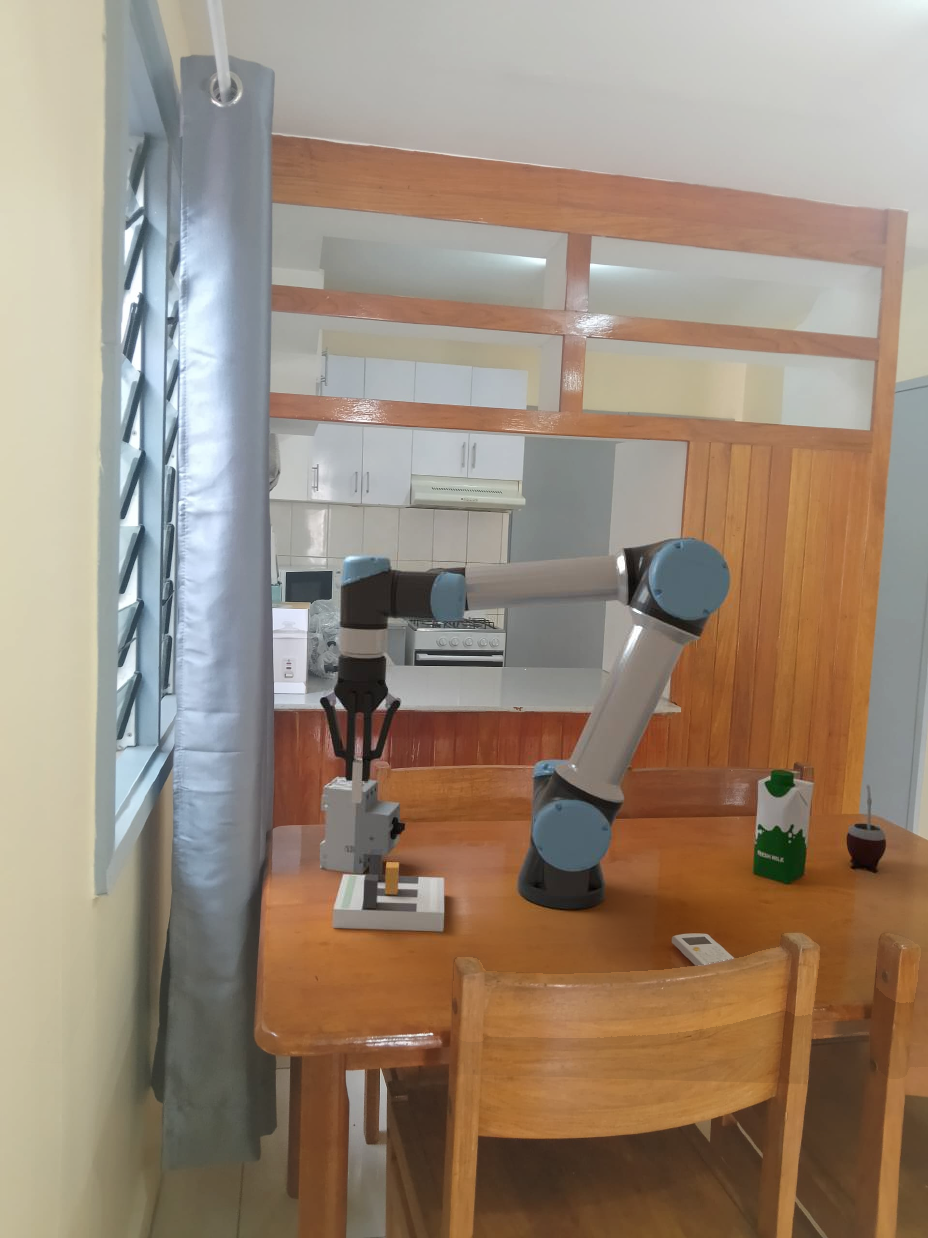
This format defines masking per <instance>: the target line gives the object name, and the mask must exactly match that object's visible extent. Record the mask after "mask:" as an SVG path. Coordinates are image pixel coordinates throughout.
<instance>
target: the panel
mask: <svg viewBox="0 0 928 1238" xmlns="http://www.w3.org/2000/svg"><path fill="white" fill-rule="evenodd" d="M385 877H386V874H385V875H383V874H382V877H381V881H378V894H377V906H376V908H363V897H364V879H365V874H349V873H348V874H345V873H343V874H342V877H341V881H340V885H339V888H338V892H337V894H336V899H335V902H334V905H333V908H332V909H333V914H332V928H333V929H355V930H356V929H357V930H358V929H359V930H386V931H387V930H389V931H413V932H415V931H418V932H419V931H420V932H421V931H423V932H444V926H445V878H444V877H432V876H430V877H429V876H412V875H411V876H408V875H407V876H406V875H399V877H398V893H397V895H393V894H385Z"/></svg>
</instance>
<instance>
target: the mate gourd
mask: <svg viewBox="0 0 928 1238" xmlns="http://www.w3.org/2000/svg"><path fill="white" fill-rule="evenodd" d="M870 787H871V786H870V785H869V784H867V785H866V791H867V792H866V794H867V799H866V803H867V823H862V822H860V823H859V822H857V823H854V824H852V825H851V826H850V827H849V829H848V830H847V831H848V832H847V833H846V848H847V851H848V853H849V856H850V857H851V859H850V863H851V864H852V865H850V869H851V870H860V869H864V870H867V871H869V872H871V873H874V874H877V873H878V872H879V870H878V869H877V867H878V865H879V862H880V860H881V859H882V858H883V856H884V854H885V852H886V848H887V841H886V835H885V833H884V830H883V829H882V828H880V827H879V826H876V825H874V824H871V819H872V817H871V816H872V814H871V813H872V811H871V810H872V807H871V806H872V802H873V801H872V798H871V797H872V796H871V789H870Z"/></svg>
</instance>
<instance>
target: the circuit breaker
mask: <svg viewBox="0 0 928 1238" xmlns="http://www.w3.org/2000/svg"><path fill="white" fill-rule="evenodd" d="M322 790H323V792H322V795H321V798H320V799H321V802H320V803H321V804H320V806H321V808H320V810H321V811H322V812H323V811H324V812H325V829H324V830H325V831H324V835H325V836H324V839H323V841H321V842H320V843H319V870H320V869H321V870H322V869H325V870H327V871H337V872H345V873H352V874H358V875H363V874H364V872H365V871H366V870H367V869H369V861H370V851H371V849H372V850H383V857H388V855H389V854H390V853H391V852H392V851H393V849H394V848H395V847H396V846H397V845H398V844H399V842H400V835H402V834H403V832H404V831H405V830H406V823H405V822H401V821H400V820H401V819H400V818H401V803H400V802H393V801H384V800H378V793H379V791H378V790H379V780H373V779H369V780H368V781H363V792H362V801H361V803H351V798H352V781H346V778H345V777H339V776H336V777H335V778H334V779H332V780H331V781H330V782H328V783H327V784H326V785H324V786H323V788H322Z"/></svg>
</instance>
